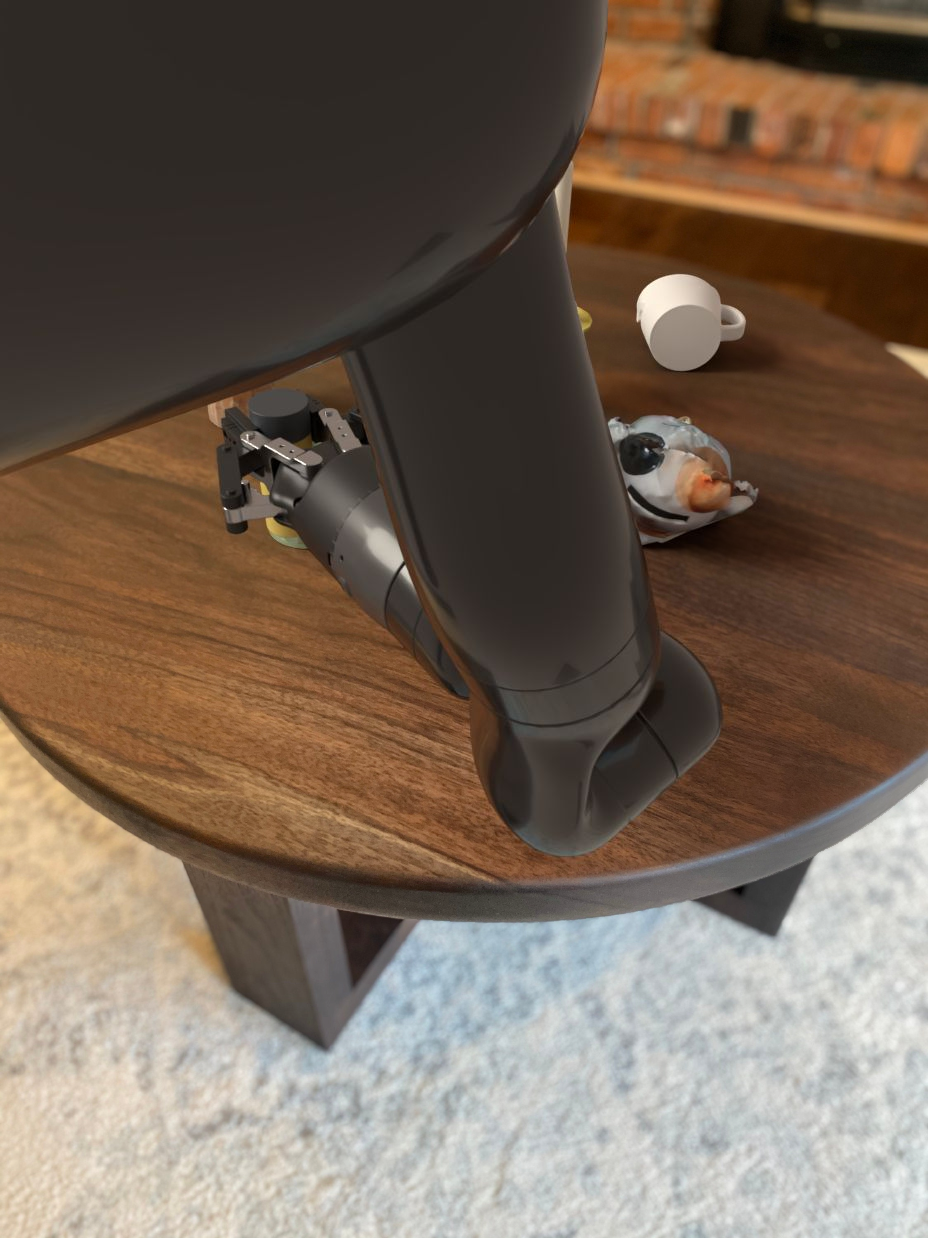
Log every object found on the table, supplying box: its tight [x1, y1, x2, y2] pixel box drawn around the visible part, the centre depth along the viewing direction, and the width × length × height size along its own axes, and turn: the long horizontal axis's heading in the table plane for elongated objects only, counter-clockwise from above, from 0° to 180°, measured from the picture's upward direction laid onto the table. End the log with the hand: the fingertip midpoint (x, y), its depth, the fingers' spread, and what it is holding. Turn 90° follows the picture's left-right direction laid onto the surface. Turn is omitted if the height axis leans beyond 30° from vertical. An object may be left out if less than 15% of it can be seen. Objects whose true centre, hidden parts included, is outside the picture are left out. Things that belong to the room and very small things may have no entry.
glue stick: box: [248, 387, 313, 538], centre depth 61 cm, size 4×4×9 cm
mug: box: [636, 273, 747, 372], centre depth 109 cm, size 12×9×8 cm
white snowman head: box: [607, 414, 760, 546], centre depth 80 cm, size 15×12×14 cm
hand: (262, 412), depth 61 cm, fingers closed on glue stick, 3 cm apart
